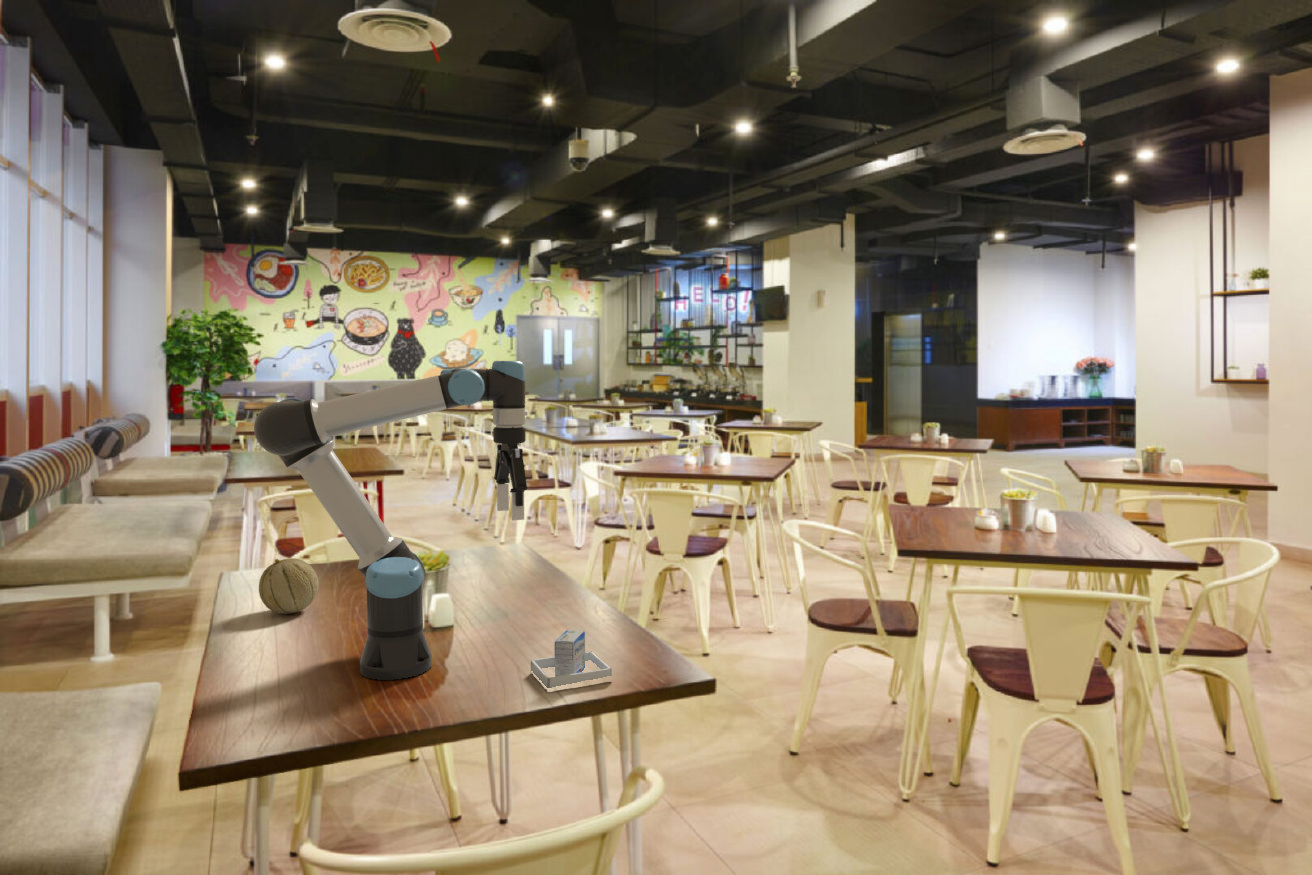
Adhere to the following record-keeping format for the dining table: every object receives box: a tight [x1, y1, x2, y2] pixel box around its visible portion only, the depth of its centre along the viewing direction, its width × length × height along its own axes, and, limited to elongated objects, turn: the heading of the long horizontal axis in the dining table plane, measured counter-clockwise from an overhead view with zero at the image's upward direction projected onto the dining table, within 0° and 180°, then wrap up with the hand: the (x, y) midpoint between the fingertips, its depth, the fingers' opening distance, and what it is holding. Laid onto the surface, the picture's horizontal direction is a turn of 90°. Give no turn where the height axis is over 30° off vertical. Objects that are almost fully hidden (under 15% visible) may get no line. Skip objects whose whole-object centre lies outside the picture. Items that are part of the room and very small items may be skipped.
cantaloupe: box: [258, 557, 319, 615], centre depth 229 cm, size 15×15×15 cm
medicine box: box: [553, 629, 586, 676], centre depth 182 cm, size 8×4×9 cm, turn 168°
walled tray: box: [530, 650, 613, 688], centre depth 182 cm, size 14×12×3 cm
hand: (510, 515), depth 204 cm, fingers open, 13 cm apart
